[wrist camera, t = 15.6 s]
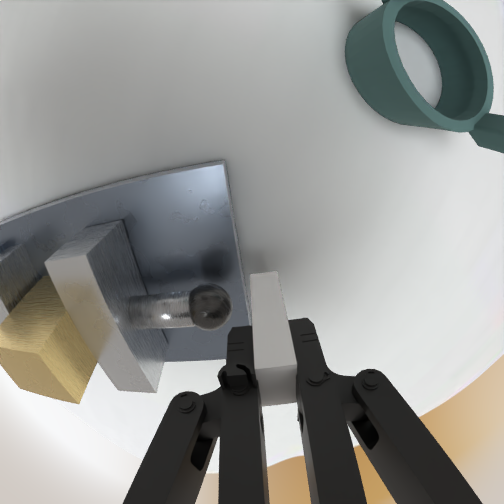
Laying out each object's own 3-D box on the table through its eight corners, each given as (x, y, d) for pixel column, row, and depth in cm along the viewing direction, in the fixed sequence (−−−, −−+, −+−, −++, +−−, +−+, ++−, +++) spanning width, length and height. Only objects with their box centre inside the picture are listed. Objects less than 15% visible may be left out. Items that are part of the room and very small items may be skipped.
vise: (1, 221, 16) (-46, 254, 10) (225, 159, 15) (214, 182, 9) (58, 342, 22) (33, 386, 16) (254, 338, 21) (258, 404, 16)
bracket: (442, 142, 15) (537, 170, 7) (330, 102, 14) (418, 88, 6) (449, 40, 11) (533, 29, 3) (341, -10, 10) (406, -74, 2)
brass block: (43, 276, 16) (-15, 343, 9) (99, 268, 16) (38, 353, 9) (63, 317, 18) (19, 388, 11) (119, 316, 18) (79, 404, 11)
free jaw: (83, 228, 14) (44, 262, 10) (218, 202, 14) (209, 236, 10) (134, 346, 19) (118, 390, 15) (245, 340, 19) (246, 390, 15)
